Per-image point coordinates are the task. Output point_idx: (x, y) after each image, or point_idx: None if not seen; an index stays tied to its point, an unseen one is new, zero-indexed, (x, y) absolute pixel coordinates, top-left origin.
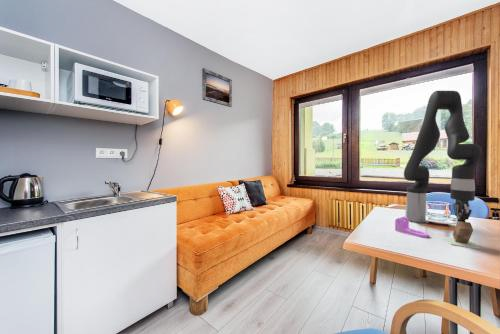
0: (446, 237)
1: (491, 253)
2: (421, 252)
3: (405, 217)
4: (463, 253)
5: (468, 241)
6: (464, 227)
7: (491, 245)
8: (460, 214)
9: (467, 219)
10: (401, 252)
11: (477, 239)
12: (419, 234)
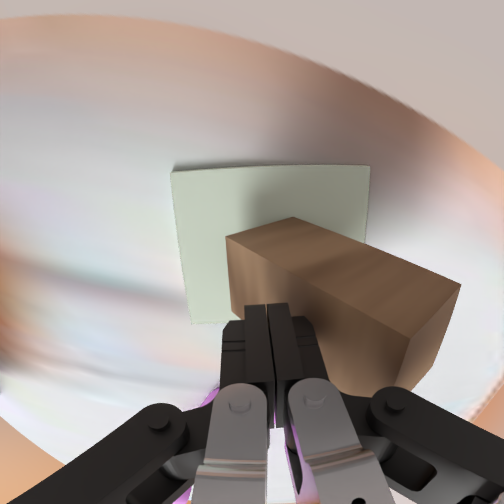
0: (209, 314)
1: (417, 130)
2: (467, 388)
3: (178, 502)
4: (462, 278)
5: (312, 224)
6: (434, 348)
7: (207, 50)
8: (393, 488)
9: (395, 389)
10: (468, 416)
11: (86, 111)
12: (274, 422)
